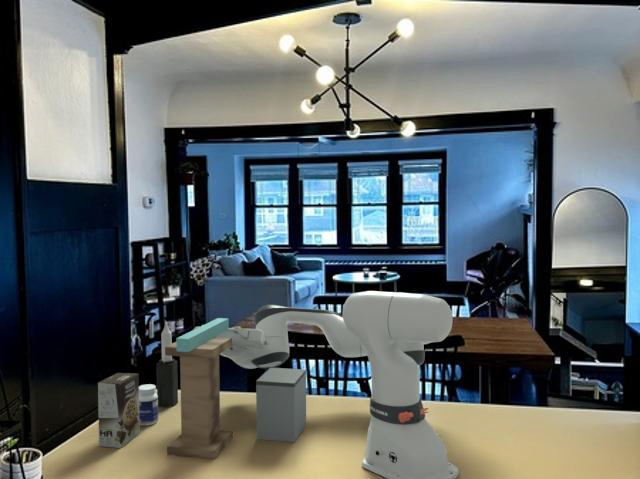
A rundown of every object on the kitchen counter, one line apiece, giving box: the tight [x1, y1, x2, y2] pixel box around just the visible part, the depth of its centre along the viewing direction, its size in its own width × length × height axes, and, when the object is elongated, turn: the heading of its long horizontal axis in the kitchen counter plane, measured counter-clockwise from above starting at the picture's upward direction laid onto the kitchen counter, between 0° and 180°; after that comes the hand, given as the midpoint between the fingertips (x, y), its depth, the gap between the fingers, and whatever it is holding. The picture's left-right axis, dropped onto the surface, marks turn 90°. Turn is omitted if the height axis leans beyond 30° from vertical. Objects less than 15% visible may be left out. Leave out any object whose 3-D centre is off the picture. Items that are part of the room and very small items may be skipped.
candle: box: [156, 321, 179, 408], centre depth 164 cm, size 5×5×25 cm
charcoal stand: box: [255, 367, 307, 443], centre depth 143 cm, size 12×10×15 cm
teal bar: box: [175, 317, 230, 352], centre depth 136 cm, size 24×3×3 cm, turn 168°
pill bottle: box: [139, 383, 159, 427], centre depth 150 cm, size 6×6×10 cm
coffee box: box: [97, 372, 141, 449], centre depth 138 cm, size 9×6×16 cm
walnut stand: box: [165, 337, 234, 460], centre depth 134 cm, size 12×12×26 cm
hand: (219, 328), depth 147 cm, fingers open, 8 cm apart
